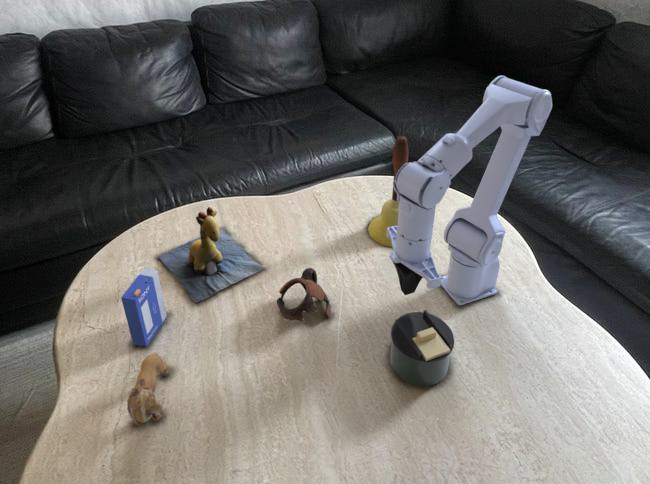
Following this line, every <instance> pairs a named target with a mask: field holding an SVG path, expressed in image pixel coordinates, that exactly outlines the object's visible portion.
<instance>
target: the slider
mask: <svg viewBox="0 0 650 484" xmlns="http://www.w3.org/2000/svg"><path fill="white" fill-rule="evenodd" d="M412 341H413V342H414V344H415V345H416V346H417V348H418V349H419V351H420V352H421V354H422V356H423V358H424V359H425V361H428V360H431V359H433V358H436V357H439V356H441V355H444V354H447V353H450V349H449V347H448V346H447V345H446V344H445V342H444V341H443V340H442V338H441V337H440V336H439V334H438V333H437V332H436V330H434V329H433V327H432V328H429V329H426V330H423V331H420V332H417V337H415V338H412Z"/></svg>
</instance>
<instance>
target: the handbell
mask: <svg viewBox="0 0 650 484" xmlns="http://www.w3.org/2000/svg"><path fill="white" fill-rule="evenodd" d="M409 151H410V150H409V141H408V138H407V137H406V136H404V135H399V136H397V138H395V143H394V145H393V149H392V157H391V158H392V159H391V160H392V167H393V181H395V178H396V175H397V173H398V171H399V169H400V168H401V167H402V166H403V165H404V164H406V163H409V153H410V152H409ZM399 205H400V203H399V202H398V201H397V193H396V191H395V190H394V188H393V187H392V195H391V199H388V200H386V201H385V202H384V203H383V204H382V206H381V211H380V215H379V216H376V217H375V218H374V219H372V220H371V222H370V223H369V225H368V228H367V229H368V234H369V236H370V237H371V239H373V241H375V242H376V243H378V244H380V245H382V246H385V247H390V248H393V247H392V243H391V239H388V238H387V237H386V234H387V228H389V227H393V226H397V227H398V216H399Z"/></svg>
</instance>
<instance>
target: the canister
mask: <svg viewBox="0 0 650 484" xmlns="http://www.w3.org/2000/svg"><path fill="white" fill-rule="evenodd" d="M432 327H433V329H434V330H436V332H437V333H438V334H439V336H440V337H441V338H442V340H443V341H444V342H445V344H446V345H447V346H448V347H449V349H450V353H447V354H444V355H441V356H439V357H436V358H433V359H431V360H428V361H425V359H424V358H423V356H422V354H421V352H420V351H419V349H418V348H417V346H416V345H415V344H414V342H413V341H412V338H415V337H417V332H420V331H423V330H426V329H429V328H432ZM390 340H391V345H390V346H391V347H390V353H389V354H390V355H389V360H390V361H389V362H390V365H391V368H392V370H393V372H394V373H395V374H396V375H397V377H399V378H400V379H401V380H402V381H404V382H406V383H408V384H410V385H412V386H416V387H430V386H434V385H436V384H438V383H440V382H441V381H442V380H444V378H445V377H446V376H447V373H448V371H449V369H448V368H449V364H450V358H451V355H452V353H453V350H454V348H455V347H454V346H455V336H454V333H453V331H452V329H451V327H450V326H449V325H448V324H447V323H446V322H445V321H444V320H442V319H441V318H440V317H438V316H436V315H435V314H431V313H429V311H428V310H427V309H423V311H412V312H406V313H404V314H402V315H400V316H399V317H398V318H396V319H395V320H394V322H393V324H392V325H391V328H390Z"/></svg>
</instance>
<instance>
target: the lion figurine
mask: <svg viewBox="0 0 650 484" xmlns="http://www.w3.org/2000/svg"><path fill="white" fill-rule="evenodd" d="M158 374H162V376H164V377H168V375H170V369H169V367H168V363H167V362H165V361H163V358H162V357H161V356H160V355H159V354H158V353H157V352H152V353H150V354H148V355H147V356H145V358H144V359H143V360H142V362H141V364H140V371H139V374H138V376H137V379H136V382H135V384H134V387H133V388H132V390H131V391H130V392H129V395H128V397H127V399H126V404H127V408H126V409H127V412H128V414H129V417H130V418H131V419H133V420H134V424H135V426H137V427H141V426H143V424H146V422H148V421H149V420H150V419H151V418H152V420H153V422H154V421H156V422H157V421H159V420H160V419H161V418H162V415H161V414H160V412H161V410H162V408H163V404H161V403H159V402H158V401H157V398H156V395H155V390H156V385H157V375H158Z"/></svg>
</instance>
